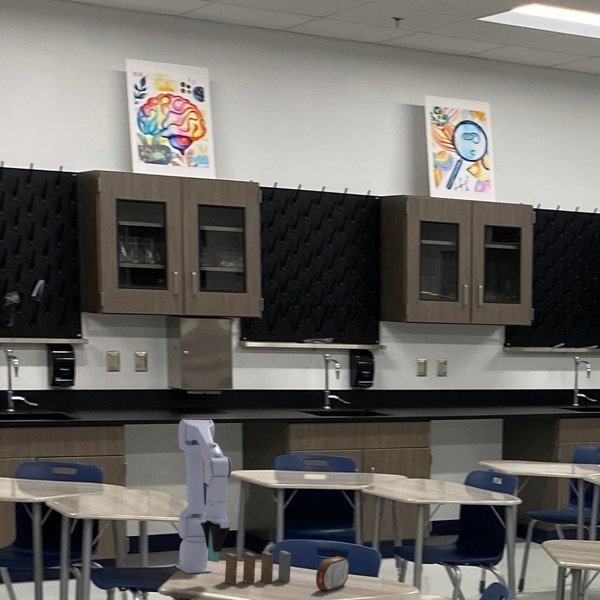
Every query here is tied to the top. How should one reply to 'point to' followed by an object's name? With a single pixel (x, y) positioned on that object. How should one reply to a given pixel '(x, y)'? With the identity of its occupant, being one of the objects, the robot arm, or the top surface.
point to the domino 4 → (284, 566)
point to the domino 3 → (267, 567)
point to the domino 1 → (231, 568)
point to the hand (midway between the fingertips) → (213, 549)
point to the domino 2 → (249, 567)
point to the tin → (332, 573)
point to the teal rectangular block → (211, 554)
